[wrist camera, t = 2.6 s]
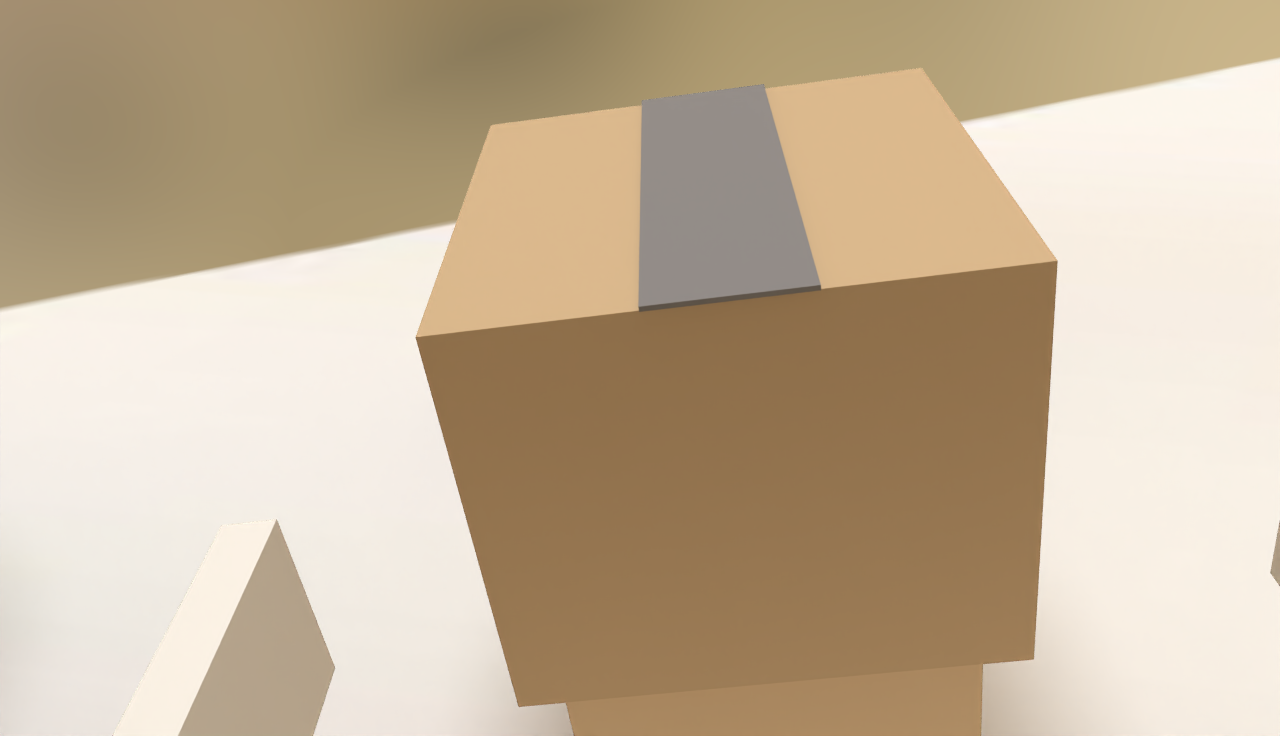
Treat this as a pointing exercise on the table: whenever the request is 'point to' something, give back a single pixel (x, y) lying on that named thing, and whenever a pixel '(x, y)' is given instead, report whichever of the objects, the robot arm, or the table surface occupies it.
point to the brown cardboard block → (746, 391)
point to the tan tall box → (800, 708)
